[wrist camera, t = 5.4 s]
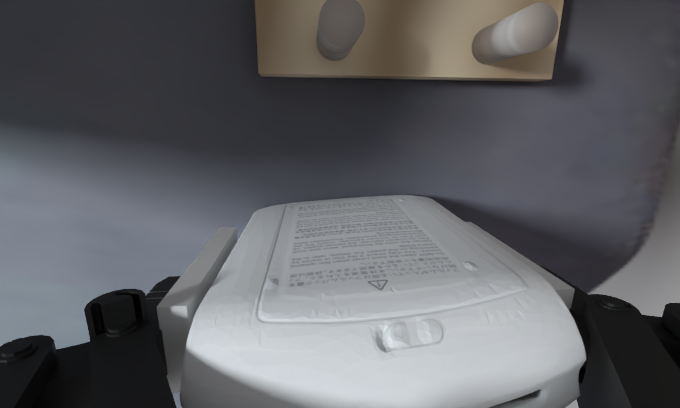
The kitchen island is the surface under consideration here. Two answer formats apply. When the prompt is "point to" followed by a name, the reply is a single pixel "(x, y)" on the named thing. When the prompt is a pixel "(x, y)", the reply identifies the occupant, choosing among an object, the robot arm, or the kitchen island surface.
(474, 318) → the photo printer
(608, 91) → the kitchen island surface
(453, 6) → the peg board
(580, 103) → the kitchen island surface
